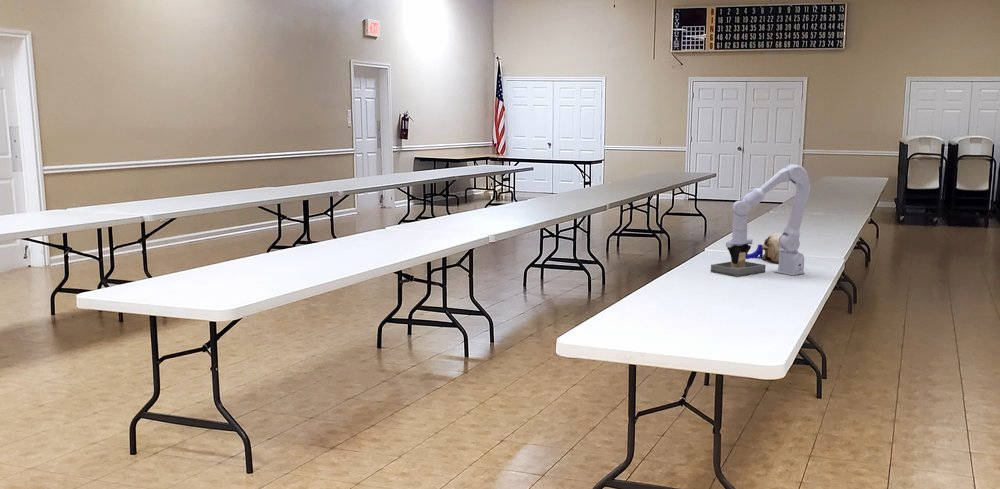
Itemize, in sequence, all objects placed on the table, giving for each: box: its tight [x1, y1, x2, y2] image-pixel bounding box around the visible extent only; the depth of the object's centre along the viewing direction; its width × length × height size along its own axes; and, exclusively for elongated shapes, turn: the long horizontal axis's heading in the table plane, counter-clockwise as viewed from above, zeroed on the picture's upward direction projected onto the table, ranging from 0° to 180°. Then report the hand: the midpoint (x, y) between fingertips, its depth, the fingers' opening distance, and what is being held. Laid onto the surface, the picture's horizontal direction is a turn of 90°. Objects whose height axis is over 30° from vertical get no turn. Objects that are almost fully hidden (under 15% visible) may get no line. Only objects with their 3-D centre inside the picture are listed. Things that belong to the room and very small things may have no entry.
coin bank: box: [761, 232, 783, 264], centre depth 370 cm, size 16×17×13 cm
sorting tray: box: [710, 260, 767, 278], centre depth 345 cm, size 14×18×3 cm
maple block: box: [730, 252, 746, 268], centre depth 345 cm, size 4×4×6 cm
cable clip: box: [745, 243, 764, 260], centre depth 378 cm, size 12×4×6 cm, turn 86°
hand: (738, 263), depth 345 cm, fingers closed on maple block, 4 cm apart
